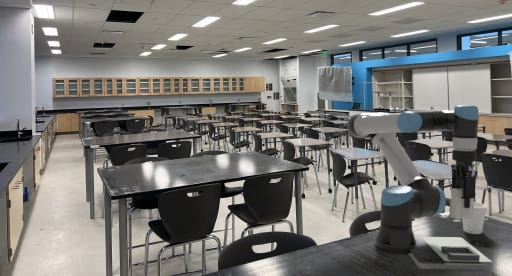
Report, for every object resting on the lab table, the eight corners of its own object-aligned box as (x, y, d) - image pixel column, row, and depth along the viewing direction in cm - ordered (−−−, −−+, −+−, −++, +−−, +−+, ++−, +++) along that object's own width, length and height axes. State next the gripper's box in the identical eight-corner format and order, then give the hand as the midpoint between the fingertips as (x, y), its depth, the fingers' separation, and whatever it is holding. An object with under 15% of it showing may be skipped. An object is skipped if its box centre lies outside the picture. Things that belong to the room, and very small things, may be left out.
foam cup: (487, 234, 161) (489, 204, 159) (482, 240, 154) (483, 209, 153) (463, 229, 167) (464, 200, 166) (456, 234, 160) (458, 205, 159)
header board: (444, 265, 132) (445, 255, 132) (420, 240, 155) (421, 232, 154) (492, 266, 131) (492, 256, 130) (461, 240, 154) (461, 232, 153)
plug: (452, 218, 133) (454, 191, 132) (447, 215, 137) (448, 188, 136) (476, 218, 133) (478, 191, 132) (470, 215, 137) (471, 188, 136)
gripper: (489, 152, 124) (485, 222, 126) (463, 146, 141) (460, 207, 143) (466, 153, 124) (463, 222, 127) (442, 146, 141) (440, 207, 144)
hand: (461, 214), depth 135 cm, fingers closed on plug, 4 cm apart
